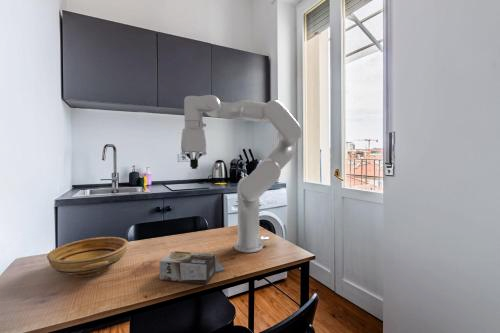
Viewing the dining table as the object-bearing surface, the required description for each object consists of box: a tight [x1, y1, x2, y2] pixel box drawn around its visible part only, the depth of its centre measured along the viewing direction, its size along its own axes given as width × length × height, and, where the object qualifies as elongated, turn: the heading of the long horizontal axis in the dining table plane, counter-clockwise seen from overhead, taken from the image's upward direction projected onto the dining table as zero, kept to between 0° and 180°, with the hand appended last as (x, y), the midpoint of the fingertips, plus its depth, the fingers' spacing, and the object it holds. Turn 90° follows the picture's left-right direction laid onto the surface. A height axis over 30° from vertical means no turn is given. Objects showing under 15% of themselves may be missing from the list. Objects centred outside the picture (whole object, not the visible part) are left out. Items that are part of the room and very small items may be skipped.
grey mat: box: [171, 257, 225, 282], centre depth 90 cm, size 18×14×1 cm
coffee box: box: [159, 250, 216, 285], centre depth 83 cm, size 9×6×16 cm
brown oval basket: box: [46, 236, 129, 278], centre depth 89 cm, size 30×24×8 cm
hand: (194, 168), depth 107 cm, fingers closed
